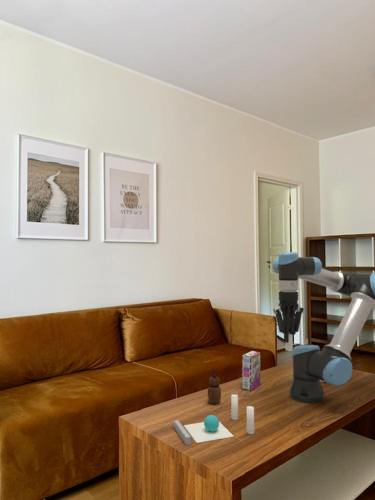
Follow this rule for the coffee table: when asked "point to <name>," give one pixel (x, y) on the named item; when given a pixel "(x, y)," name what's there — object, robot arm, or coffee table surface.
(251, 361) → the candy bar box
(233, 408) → the post
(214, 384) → the wooden figurine
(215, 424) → the ball
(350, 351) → the robot arm
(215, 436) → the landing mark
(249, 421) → the post
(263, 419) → the coffee table surface
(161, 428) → the coffee table surface
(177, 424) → the wall
